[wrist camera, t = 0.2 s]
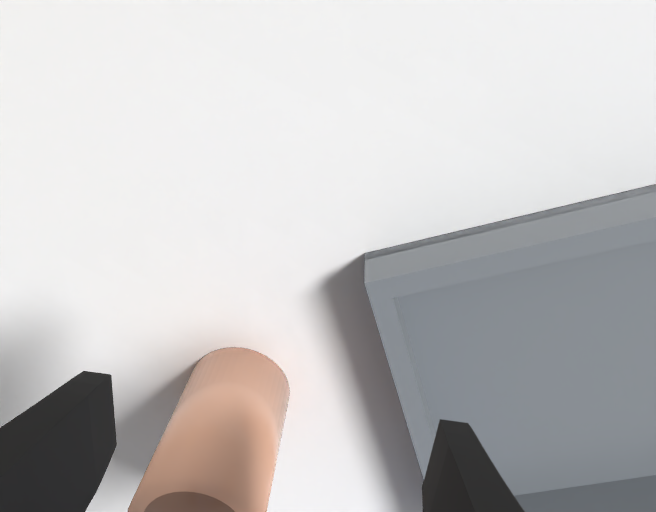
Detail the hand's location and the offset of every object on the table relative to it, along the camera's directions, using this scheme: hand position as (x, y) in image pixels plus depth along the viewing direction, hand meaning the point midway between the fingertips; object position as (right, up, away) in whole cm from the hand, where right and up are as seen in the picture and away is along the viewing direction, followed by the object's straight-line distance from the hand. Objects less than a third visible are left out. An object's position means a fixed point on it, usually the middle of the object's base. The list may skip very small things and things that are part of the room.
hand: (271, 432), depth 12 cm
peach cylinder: (-3, -2, +12) cm, 12 cm away
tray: (+12, 0, +10) cm, 16 cm away
